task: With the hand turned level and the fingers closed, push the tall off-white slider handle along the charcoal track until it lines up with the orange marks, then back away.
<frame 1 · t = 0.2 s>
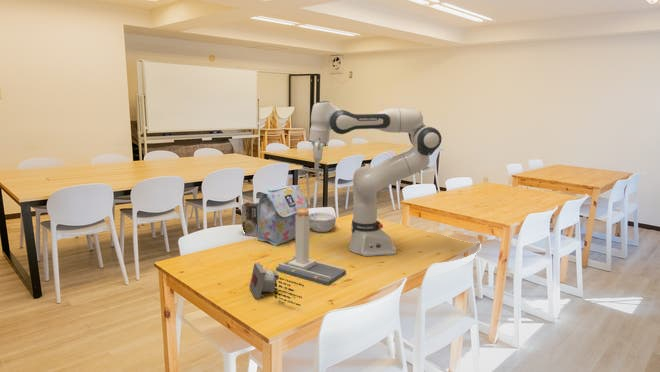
hand: (316, 168, 194), 39 cm above the table, tool pointing down, fingers open, 8 cm apart
slider handle: (302, 238, 175), point 14 cm above the table, slide at 0.0 cm
paper bowls: (321, 230, 233), on the table
slider track: (301, 269, 178), on the table
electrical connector: (275, 299, 152), on the table
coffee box: (252, 234, 222), on the table
lunch bag: (282, 239, 216), on the table
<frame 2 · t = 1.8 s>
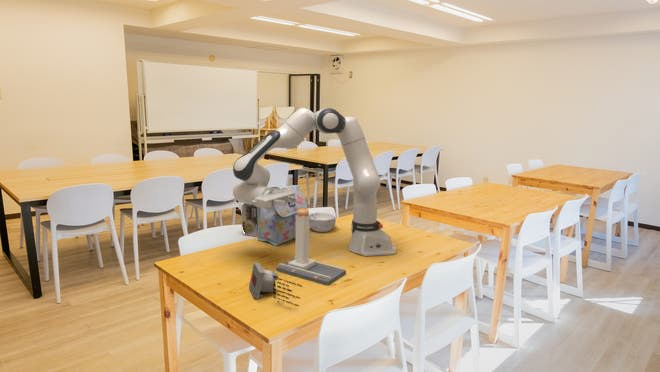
hand: (290, 201, 175), 28 cm above the table, tool horizontal, fingers open, 5 cm apart
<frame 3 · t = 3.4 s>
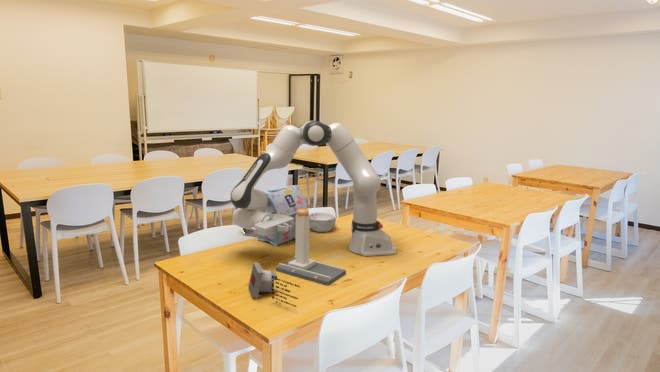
hand: (289, 228, 177), 17 cm above the table, tool horizontal, fingers closed
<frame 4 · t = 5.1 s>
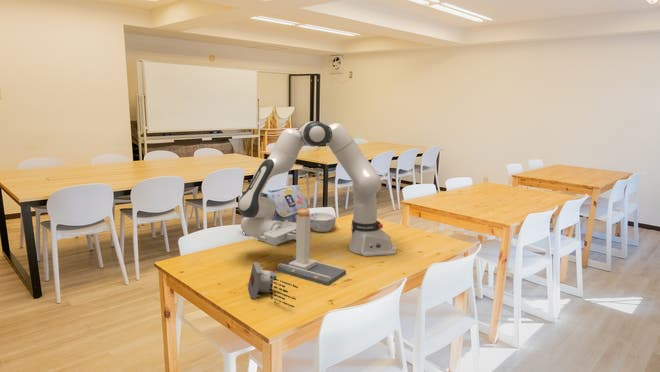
hand: (299, 236, 176), 14 cm above the table, tool horizontal, fingers closed, pressing on slider handle
slider handle: (303, 238, 175), point 14 cm above the table, slide at 0.4 cm, touching gripper
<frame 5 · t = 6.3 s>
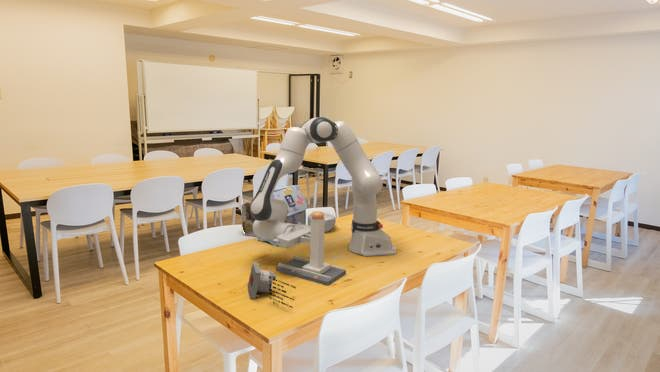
hand: (313, 240, 172), 14 cm above the table, tool horizontal, fingers closed, pressing on slider handle
slider handle: (317, 241, 171), point 14 cm above the table, slide at 7.3 cm, touching gripper
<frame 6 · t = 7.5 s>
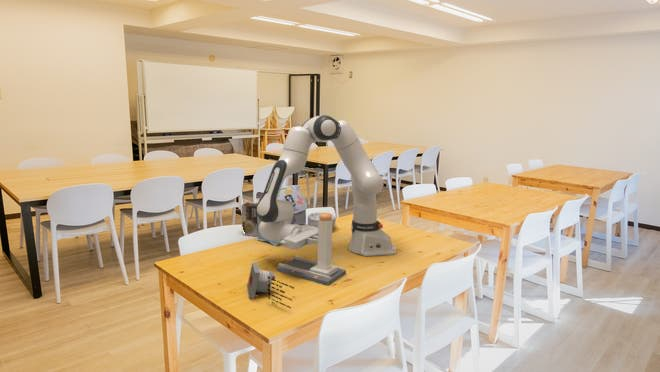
hand: (320, 241, 170), 14 cm above the table, tool horizontal, fingers closed, pressing on slider handle
slider handle: (324, 243, 169), point 14 cm above the table, slide at 10.9 cm, touching gripper
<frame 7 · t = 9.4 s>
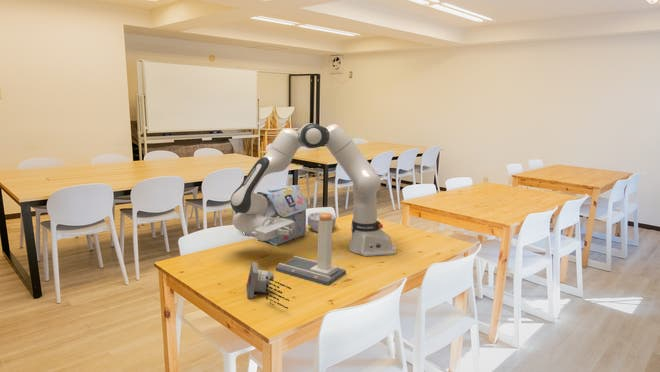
hand: (290, 232, 178), 15 cm above the table, tool horizontal, fingers closed
slider handle: (324, 243, 169), point 14 cm above the table, slide at 10.9 cm
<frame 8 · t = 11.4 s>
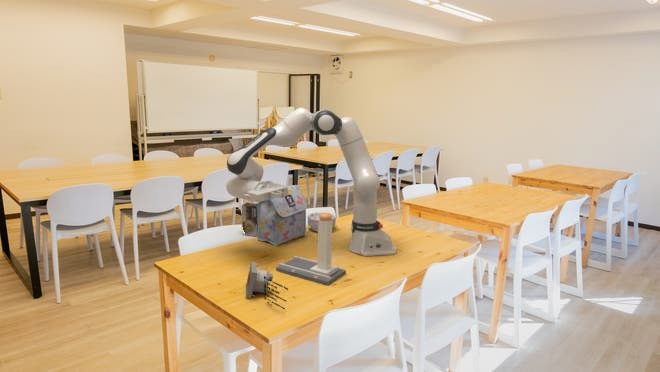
hand: (283, 195, 178), 30 cm above the table, tool horizontal, fingers closed
at the end: slider handle slide at 10.9 cm; the gripper is holding nothing; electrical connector moved 3.6 cm from its start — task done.
